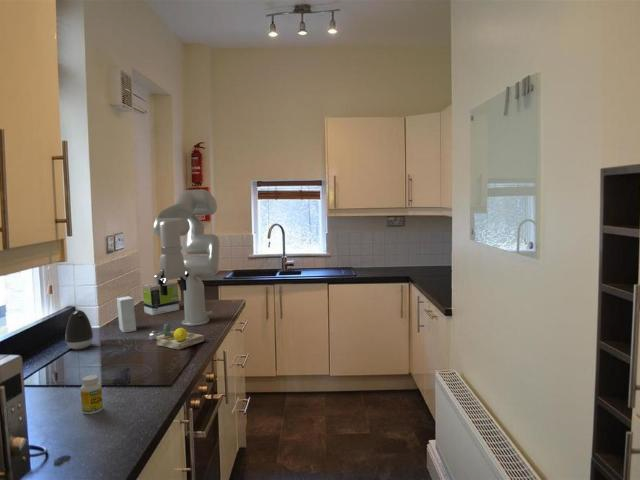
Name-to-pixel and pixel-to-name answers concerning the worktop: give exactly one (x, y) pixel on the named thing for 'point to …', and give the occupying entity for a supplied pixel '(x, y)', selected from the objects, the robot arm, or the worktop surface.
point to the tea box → (160, 298)
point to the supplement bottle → (91, 395)
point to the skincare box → (126, 314)
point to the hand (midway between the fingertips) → (174, 292)
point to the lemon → (180, 334)
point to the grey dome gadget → (78, 331)
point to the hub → (154, 334)
